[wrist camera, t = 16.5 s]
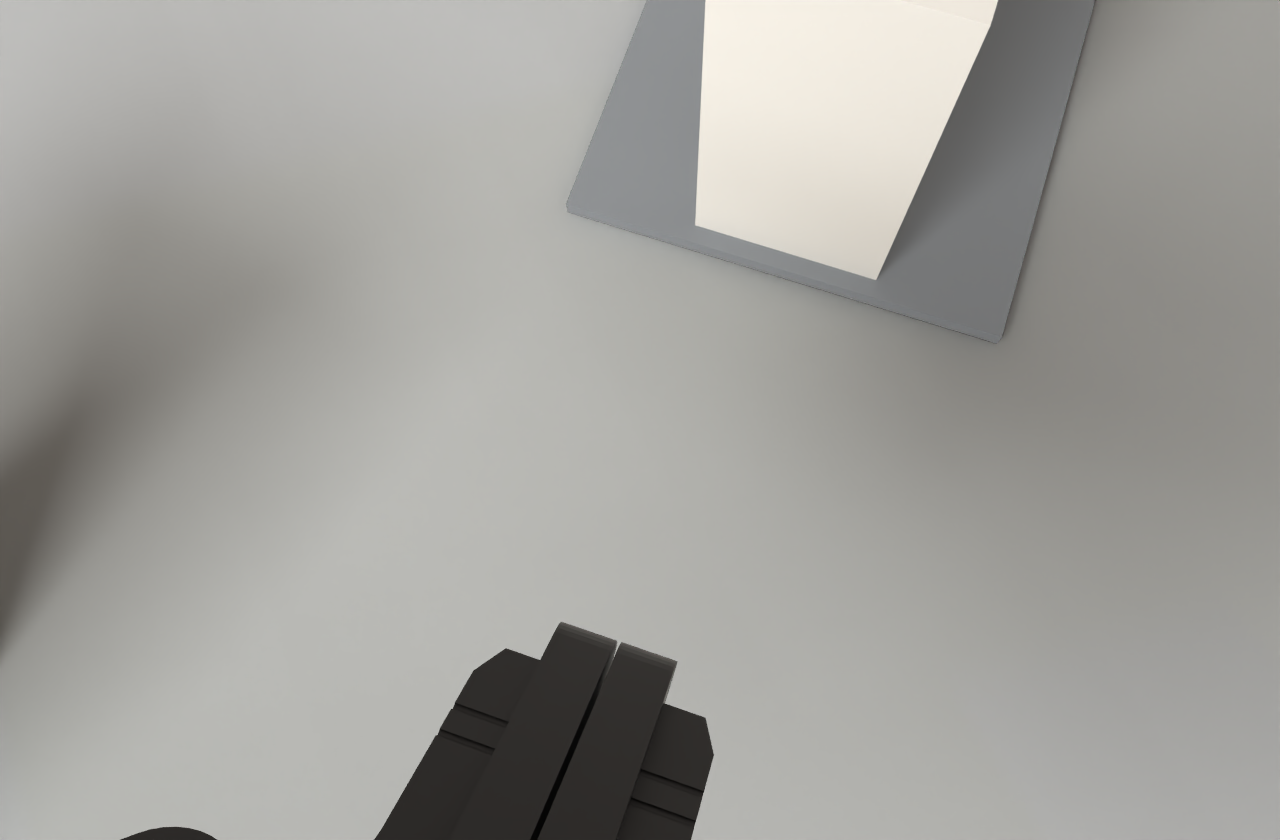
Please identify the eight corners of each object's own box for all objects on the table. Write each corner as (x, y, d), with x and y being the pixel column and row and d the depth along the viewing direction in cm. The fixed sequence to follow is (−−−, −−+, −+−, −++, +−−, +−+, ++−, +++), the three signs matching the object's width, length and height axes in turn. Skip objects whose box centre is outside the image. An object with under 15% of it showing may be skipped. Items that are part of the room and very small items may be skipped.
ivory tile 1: (876, 280, 29) (990, 24, 19) (694, 225, 30) (708, -53, 19) (896, 214, 30) (1019, -71, 19) (718, 161, 31) (742, -144, 20)
